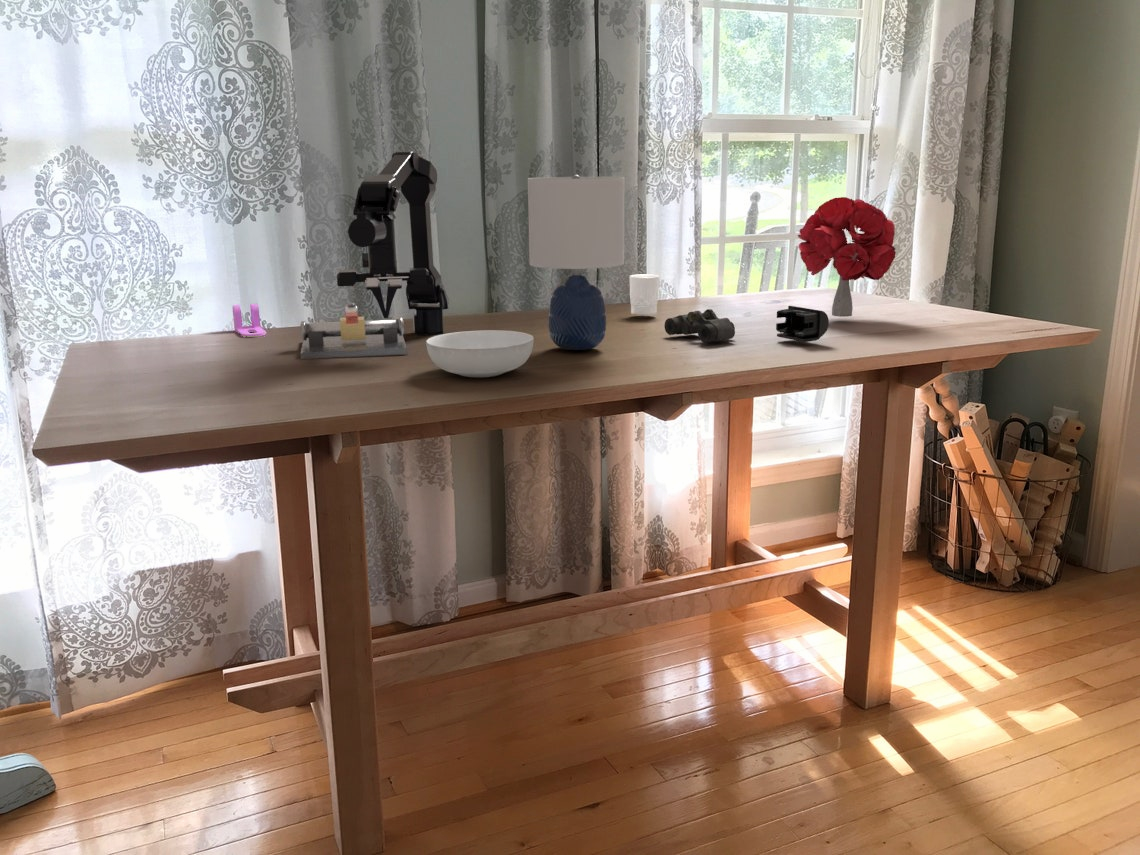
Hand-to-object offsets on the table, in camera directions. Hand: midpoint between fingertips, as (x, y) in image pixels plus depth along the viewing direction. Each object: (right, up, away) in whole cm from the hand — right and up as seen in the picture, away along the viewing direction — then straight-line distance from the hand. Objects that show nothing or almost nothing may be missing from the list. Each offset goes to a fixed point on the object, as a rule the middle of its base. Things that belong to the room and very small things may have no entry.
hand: (385, 318), depth 204 cm
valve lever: (-7, 0, +2) cm, 8 cm away
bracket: (-38, -1, +29) cm, 47 cm away
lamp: (+40, -6, +9) cm, 42 cm away
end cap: (+92, -3, +18) cm, 94 cm away
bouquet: (+110, +6, +48) cm, 120 cm away
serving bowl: (+21, -13, -15) cm, 29 cm away
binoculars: (+70, -2, +22) cm, 74 cm away
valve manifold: (-9, -6, +10) cm, 15 cm away
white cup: (+59, +7, +54) cm, 80 cm away
